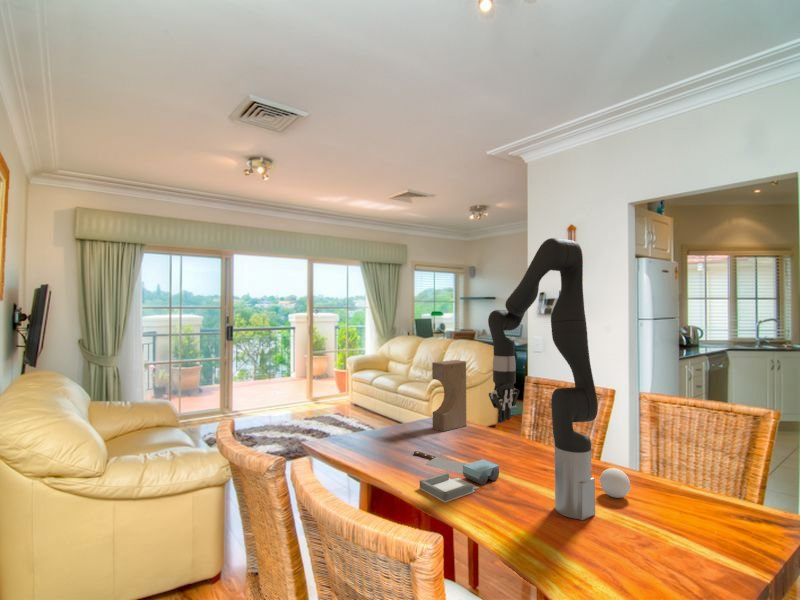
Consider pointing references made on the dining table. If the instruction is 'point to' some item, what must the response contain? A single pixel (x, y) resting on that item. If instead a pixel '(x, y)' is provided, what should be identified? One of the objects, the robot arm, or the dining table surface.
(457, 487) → the dock
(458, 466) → the kitchen cleaver
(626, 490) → the ball
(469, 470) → the pale blue lipped slab
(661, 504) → the dining table surface
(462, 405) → the decorative block
